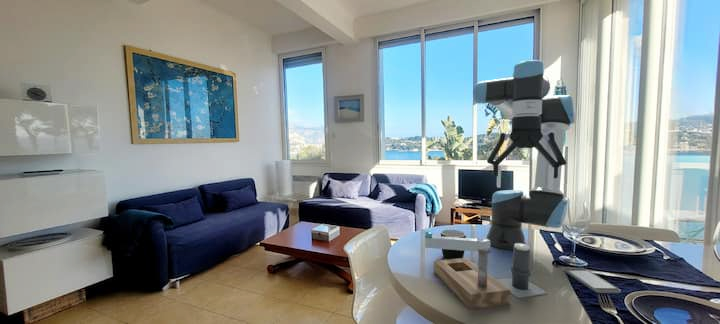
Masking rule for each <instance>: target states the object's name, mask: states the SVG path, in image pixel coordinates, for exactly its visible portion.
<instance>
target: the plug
mask: <svg viewBox="0 0 720 324" xmlns="http://www.w3.org/2000/svg"><path fill="white" fill-rule="evenodd" d="M512 251H513V253H512V265H511V267H510V273H511V278H512V286H513V287H515V288H517V289H520V290H527V289H528V284H529V282H530V281H529V279H530V276H532V271H531V269H530V259H531V248H530V245H528V244H527V243H526V244H522V243H515V244H514V247H513V250H512Z"/></svg>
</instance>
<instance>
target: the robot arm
mask: <svg viewBox="0 0 720 324" xmlns="http://www.w3.org/2000/svg"><path fill="white" fill-rule="evenodd" d="M544 73H545V67H544V62H543V61H542V60H540V59H539V60H538V59H530V60H523V61H520V62H518V63H516V64H515V65H514V67H513V73H512V77H508V78H499V79H491V80H484V81H479V82H477V83H475V84H474V86H473V91H472V93H473V94H472V95H473V100H474V102H475V104H476V103H477V104H483V105H484V104H489V105H491V106H493V107H494V108H495V109H497V110H498V111H500V112H502V114H503V116H504V117H505V118H506V119H507V120H509V121H511V131H510V133H505V132H501V133H499V137H498V140H497V143H496V144H495V146H494V148H493V150H492V151H491V153H490V155H489V157H488V158H487V160H486V162H487V163H488V164H490V165H492V167H493V171H492V172H493V173H492V175H493V177H496V187H497V188H499V189H500V188H501V184H502V181H501V180H502V166H501V165H500V164H501V163H502V162H503V161H505V159H506V158H507V157H508V156H509V155H510V154H511V153H512V152H513V151H514V150H516V148H517V149H525V148H527V149H533V148H535V150H537V156H536V165H535V167H536V168H535V175H534V177H535V178H534V187H532V188H531V189H529V193H528V194H524V192H523V190H520V189H506V190H505V189H504V190H498V191H495V192H494V193H493V194H492V196H491V198H492V199H491V221H490V226H489V229H488V232H487V234H486V239H488V240H490V241H491V242H490V246H491V245H492V247H494V248H497V249H500V250H501V249H502V250H506V251H507V250H509V251H513V247H514V244H515V243H522V244H526V245H527V243H526V239H525V235H524V232H523V227H522V225H523V224H527V225H533V226H537V227H545V228H550V229H551V228H552V229H553V228H554V229H559V228H561V227H563V224H564V223H565V220H566V216H567V212H568V206H569V200H568V199H567V198H565V197H564V196H565V194H564V192H562V191H561V179H562V178H561V177H562V167H563V166H566V165H567V161H566V160H565V157H564V155H563V154H564V144H565V133H566V132H567V131H568V130H569V129H570V127H571V125H573V124H575V121H576V120H575V117H576V116H575V108H574V102H573V101H574V100H573V97H572V96H571V95H568V94H567V95H565V94H563V95H562V94H561V95H560V94H558V95H551V96H548V94H549V93H550V90H551V84H550V81H549V79H548V78H547V77H546V76H544ZM508 138H509V139H510V141H511V143H510V145H509V146H508V147H507V148H506V149H505V150H504V151H503V152H502V153H501V154H500V155H499V156H498V157H497V158H496V156H497V155H498V153H499V151H500V150H501V148H502V146H503V144H504V143H505V141H507V140H508ZM495 158H496V159H495Z"/></svg>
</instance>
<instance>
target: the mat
mask: <svg viewBox="0 0 720 324" xmlns="http://www.w3.org/2000/svg"><path fill="white" fill-rule="evenodd" d="M497 280H498V281H499V282H501V283H502V284H503V285H505V286H506V287H508V288H509V289H510V290H511V294H510V295H512V296H514V297H515V298H517V299H522V298H528V297H537V296H542V295H543V296H544V295H548V292H547V291H545V290H543V289H542V288H540V287H539V286H537V285H536V284H534V283H532V282H531V281H529V284H528V289H527V290H520V289H517V288H515V287H513V286H512V277H510V278H501V279H500V278H499V279H497Z"/></svg>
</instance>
